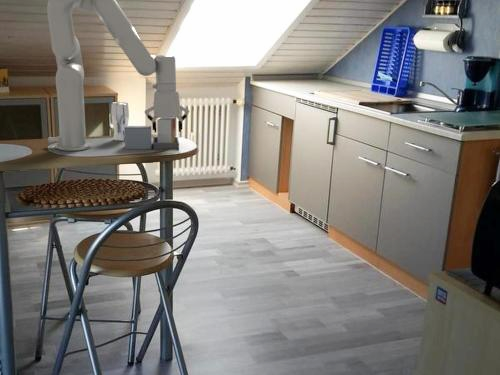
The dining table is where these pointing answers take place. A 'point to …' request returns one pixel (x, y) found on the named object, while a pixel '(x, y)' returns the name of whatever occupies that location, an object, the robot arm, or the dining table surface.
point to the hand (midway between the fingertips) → (167, 131)
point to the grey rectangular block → (138, 137)
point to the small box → (166, 130)
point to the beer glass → (119, 119)
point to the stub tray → (165, 145)
